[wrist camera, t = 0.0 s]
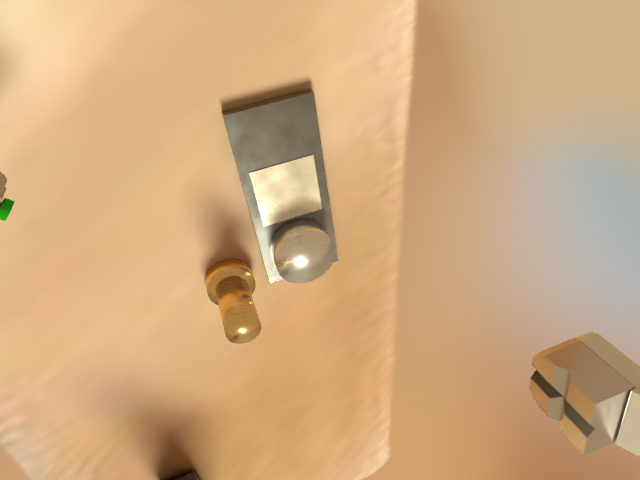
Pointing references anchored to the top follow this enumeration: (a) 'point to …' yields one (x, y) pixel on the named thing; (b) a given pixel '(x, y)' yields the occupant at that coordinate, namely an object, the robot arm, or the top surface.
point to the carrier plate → (285, 184)
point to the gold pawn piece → (234, 299)
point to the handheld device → (189, 476)
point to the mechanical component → (3, 208)
